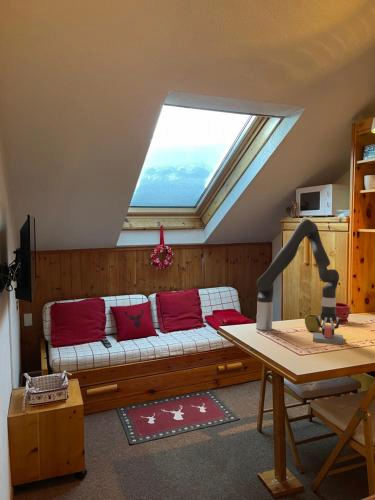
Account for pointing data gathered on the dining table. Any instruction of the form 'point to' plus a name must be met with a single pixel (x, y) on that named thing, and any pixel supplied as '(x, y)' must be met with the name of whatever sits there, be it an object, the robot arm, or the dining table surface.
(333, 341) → the pin board
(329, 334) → the socket housing
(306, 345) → the dining table surface
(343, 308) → the plant pot
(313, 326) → the flower pot
